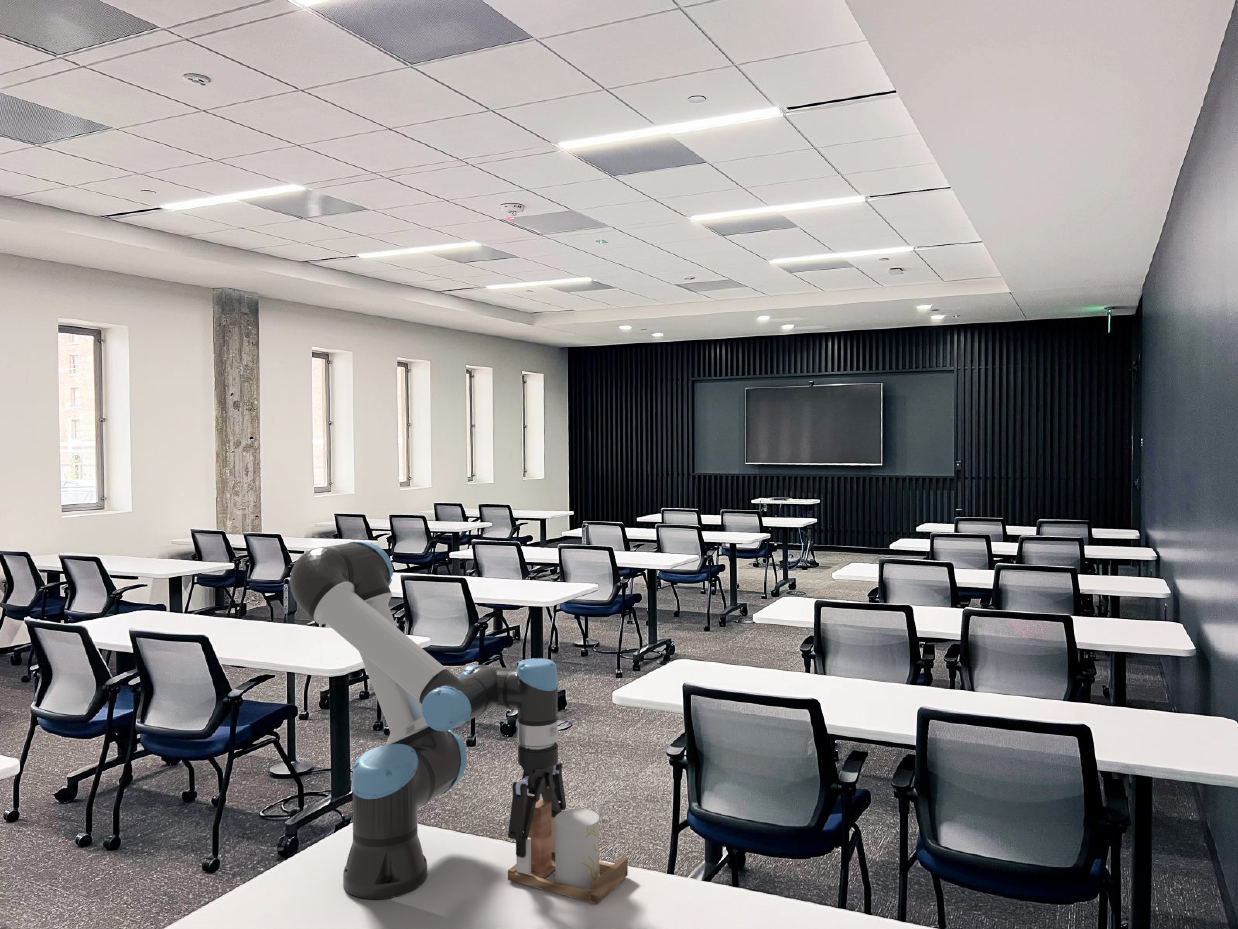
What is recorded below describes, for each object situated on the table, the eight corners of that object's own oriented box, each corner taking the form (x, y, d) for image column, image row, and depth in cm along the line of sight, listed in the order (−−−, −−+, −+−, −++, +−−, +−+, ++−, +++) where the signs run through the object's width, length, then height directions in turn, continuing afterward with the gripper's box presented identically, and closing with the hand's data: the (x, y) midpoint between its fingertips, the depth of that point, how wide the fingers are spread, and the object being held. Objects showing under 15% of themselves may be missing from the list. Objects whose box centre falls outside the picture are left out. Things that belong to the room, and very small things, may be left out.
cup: (593, 895, 160) (593, 828, 160) (549, 891, 162) (549, 825, 162) (603, 874, 168) (603, 810, 168) (561, 870, 170) (561, 807, 170)
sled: (507, 880, 165) (507, 812, 165) (542, 854, 176) (542, 790, 176) (596, 904, 157) (596, 832, 156) (627, 875, 167) (627, 808, 167)
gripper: (522, 764, 157) (522, 891, 158) (584, 729, 177) (584, 843, 177) (487, 757, 161) (487, 882, 161) (551, 724, 180) (552, 835, 181)
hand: (538, 861), depth 169 cm, fingers closed on sled, 9 cm apart
